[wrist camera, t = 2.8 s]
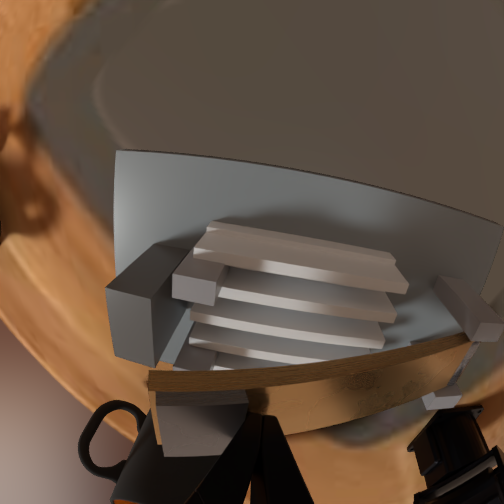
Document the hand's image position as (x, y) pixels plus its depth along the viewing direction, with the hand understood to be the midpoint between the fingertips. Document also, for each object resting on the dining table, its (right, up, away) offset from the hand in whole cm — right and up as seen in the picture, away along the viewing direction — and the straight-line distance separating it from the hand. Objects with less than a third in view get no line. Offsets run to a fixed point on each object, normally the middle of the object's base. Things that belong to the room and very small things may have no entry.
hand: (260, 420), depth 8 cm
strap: (+4, 0, +2) cm, 4 cm away
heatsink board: (+3, +3, +8) cm, 9 cm away
